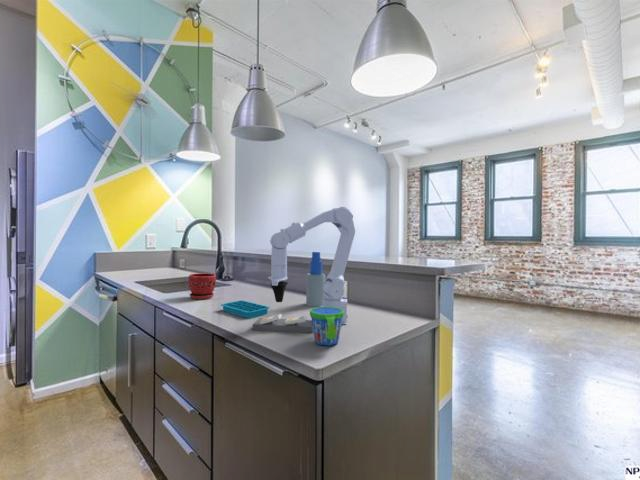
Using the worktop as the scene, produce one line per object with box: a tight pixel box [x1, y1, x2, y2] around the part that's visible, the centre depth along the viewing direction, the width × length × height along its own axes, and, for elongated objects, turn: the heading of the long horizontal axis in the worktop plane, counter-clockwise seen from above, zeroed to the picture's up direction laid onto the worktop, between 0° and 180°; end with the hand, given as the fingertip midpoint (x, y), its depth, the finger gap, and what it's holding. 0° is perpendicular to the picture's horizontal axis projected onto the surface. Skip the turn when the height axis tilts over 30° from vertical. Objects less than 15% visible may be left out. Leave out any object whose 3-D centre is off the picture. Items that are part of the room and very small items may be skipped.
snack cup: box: [309, 306, 344, 347], centre depth 99 cm, size 16×10×10 cm
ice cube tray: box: [220, 299, 270, 319], centre depth 134 cm, size 12×20×3 cm, turn 51°
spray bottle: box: [305, 251, 326, 308], centre depth 150 cm, size 9×9×25 cm
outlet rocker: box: [260, 313, 283, 324], centre depth 111 cm, size 7×4×1 cm, turn 83°
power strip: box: [251, 317, 313, 334], centre depth 113 cm, size 21×8×3 cm, turn 84°
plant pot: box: [188, 272, 217, 300], centre depth 161 cm, size 13×13×12 cm
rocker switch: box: [285, 315, 308, 325], centre depth 110 cm, size 7×4×1 cm, turn 83°
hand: (279, 301), depth 116 cm, fingers closed
